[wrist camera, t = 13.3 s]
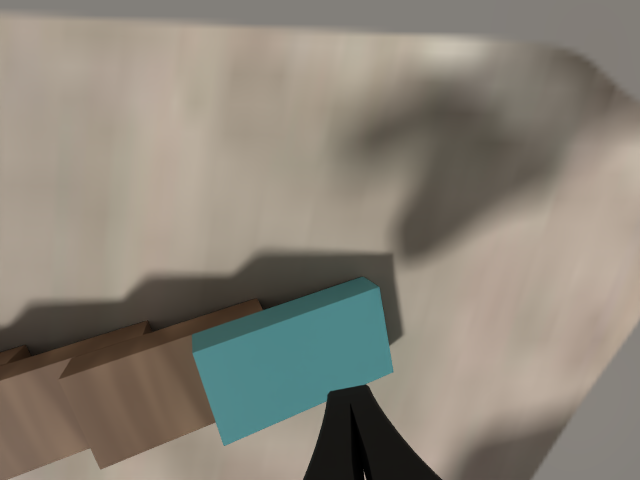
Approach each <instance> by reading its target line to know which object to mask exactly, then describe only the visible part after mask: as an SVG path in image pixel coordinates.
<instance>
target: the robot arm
mask: <svg viewBox="0 0 640 480" xmlns="http://www.w3.org/2000/svg"><path fill="white" fill-rule="evenodd" d="M363 469H364V470H363ZM364 473H365V476H366V480H442V479H441V478H440V477H439V476H438V475H437V474H436V473H435V472H434V471H433V470H432V469H431V468H430V467H429V466H428V465H427V464H426V463H425V462H424V461H423V460H422V459H421V458H420V457H419V456H418V455H417V454H416V453H415V452H414V450H413V449H412V448H411V447H410V446H409V445H408V443H407V442H406V441H405V440H404V439H403V438H402V436H401V435H400V434H399V433H398V431H397V430H396V429H395V427H394V426H393V425H392V423H391V422H390V421H389V419H388V418H387V417H386V415H385V414H384V412H383V411H382V409H381V408H380V406H379V405H378V403H377V401H376V400H375V398H374V396H373V394H372V392H371V390H370V387H369V386H367V385H366V384H365V385H360V386H355V387H349V388H344V389H339V390H334V391H330V392H329V393H328V394H327V403H326V409H325V414H324V418H323V423H322V426H321V430H320V433H319V437H318V440H317V443H316V447H315V449H314V452H313V455H312V458H311V461H310V463H309V466H308V469H307V471H306V474H305V476H304V478H303V480H364Z"/></svg>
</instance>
